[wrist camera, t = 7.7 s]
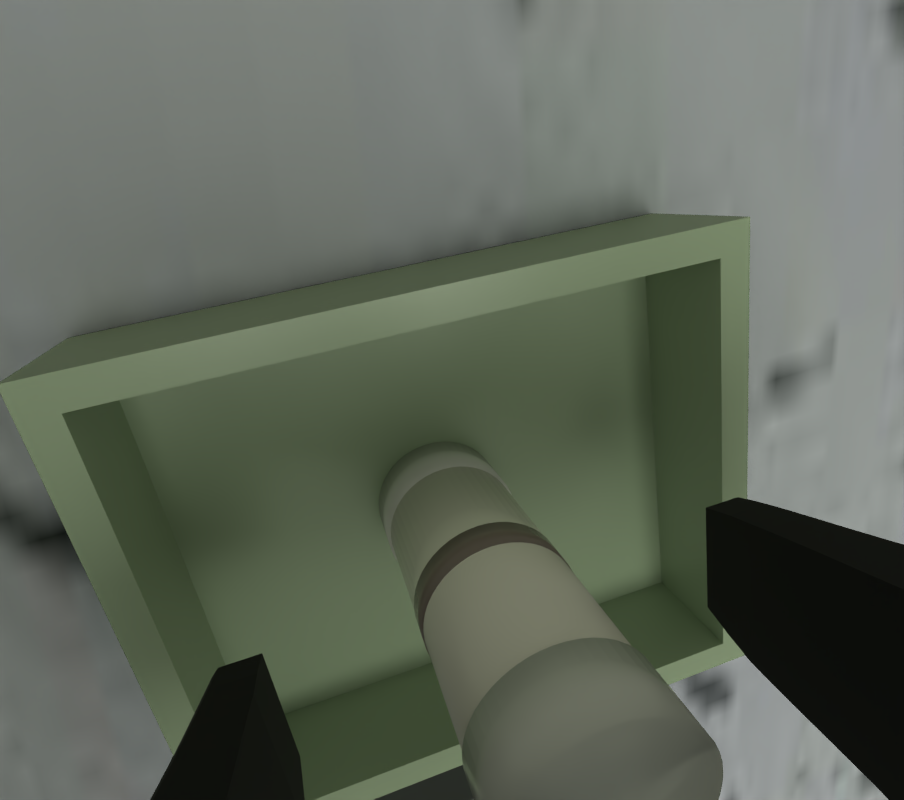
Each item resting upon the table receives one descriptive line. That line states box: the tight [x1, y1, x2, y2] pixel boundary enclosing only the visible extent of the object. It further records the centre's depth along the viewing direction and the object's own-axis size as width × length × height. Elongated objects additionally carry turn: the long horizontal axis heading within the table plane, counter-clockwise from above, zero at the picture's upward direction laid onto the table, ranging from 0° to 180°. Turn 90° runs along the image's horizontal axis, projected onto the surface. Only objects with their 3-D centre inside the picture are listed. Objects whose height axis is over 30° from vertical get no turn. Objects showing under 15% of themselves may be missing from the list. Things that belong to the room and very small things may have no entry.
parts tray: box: [0, 214, 750, 800], centre depth 12 cm, size 12×10×3 cm
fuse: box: [379, 442, 723, 800], centre depth 10 cm, size 3×3×8 cm
